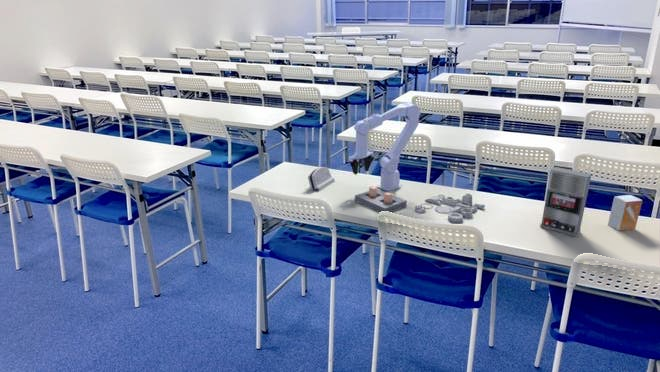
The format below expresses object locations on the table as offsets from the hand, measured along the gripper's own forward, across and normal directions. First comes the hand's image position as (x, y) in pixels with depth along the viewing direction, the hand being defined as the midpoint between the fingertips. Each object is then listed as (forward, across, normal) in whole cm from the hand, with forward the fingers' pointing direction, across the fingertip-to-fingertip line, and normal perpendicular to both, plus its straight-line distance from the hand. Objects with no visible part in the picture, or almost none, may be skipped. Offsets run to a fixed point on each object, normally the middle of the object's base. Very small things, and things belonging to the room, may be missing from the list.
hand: (361, 172), depth 231 cm
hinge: (+10, +11, -19) cm, 24 cm away
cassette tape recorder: (+10, -33, +85) cm, 92 cm away
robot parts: (+10, -15, +42) cm, 46 cm away
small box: (+10, -55, +100) cm, 115 cm away
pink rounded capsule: (+9, +4, +13) cm, 16 cm away
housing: (+9, +4, +18) cm, 21 cm away
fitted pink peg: (+9, +4, +23) cm, 25 cm away
